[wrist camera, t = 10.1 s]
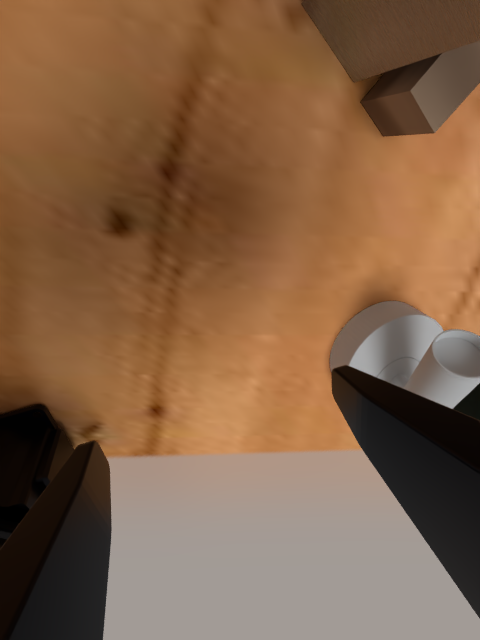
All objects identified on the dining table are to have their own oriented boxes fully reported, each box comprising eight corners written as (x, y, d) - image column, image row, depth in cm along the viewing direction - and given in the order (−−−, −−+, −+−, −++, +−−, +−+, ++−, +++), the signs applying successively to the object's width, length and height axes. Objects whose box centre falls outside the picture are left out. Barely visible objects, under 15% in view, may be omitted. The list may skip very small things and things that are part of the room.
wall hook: (560, 326, 17) (527, 450, 22) (422, 268, 25) (421, 368, 30) (410, 390, 16) (412, 503, 21) (319, 309, 24) (336, 404, 29)
